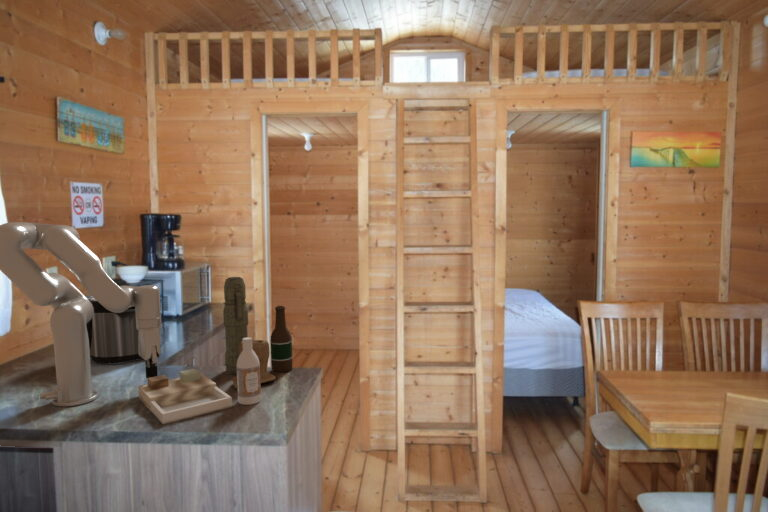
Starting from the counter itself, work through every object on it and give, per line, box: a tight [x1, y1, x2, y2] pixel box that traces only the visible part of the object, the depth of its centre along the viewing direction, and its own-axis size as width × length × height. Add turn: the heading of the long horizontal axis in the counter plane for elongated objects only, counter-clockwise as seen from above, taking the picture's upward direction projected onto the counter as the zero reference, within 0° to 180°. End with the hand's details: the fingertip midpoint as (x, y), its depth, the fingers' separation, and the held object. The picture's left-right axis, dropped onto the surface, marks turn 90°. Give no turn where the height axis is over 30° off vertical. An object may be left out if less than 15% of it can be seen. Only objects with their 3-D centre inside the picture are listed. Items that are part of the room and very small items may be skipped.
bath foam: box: [236, 336, 262, 406], centre depth 159 cm, size 7×7×20 cm
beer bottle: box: [270, 305, 293, 374], centre depth 191 cm, size 8×8×24 cm
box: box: [150, 386, 233, 425], centre depth 154 cm, size 20×13×3 cm, turn 128°
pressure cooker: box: [86, 280, 162, 365], centre depth 213 cm, size 30×28×32 cm
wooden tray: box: [137, 372, 217, 412], centre depth 165 cm, size 20×14×4 cm
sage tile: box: [179, 368, 201, 383], centre depth 170 cm, size 5×5×2 cm
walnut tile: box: [147, 374, 169, 390], centre depth 164 cm, size 5×5×2 cm
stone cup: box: [232, 339, 277, 389], centre depth 177 cm, size 15×12×15 cm
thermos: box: [222, 276, 249, 375], centre depth 191 cm, size 9×12×35 cm
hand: (151, 377), depth 170 cm, fingers closed
